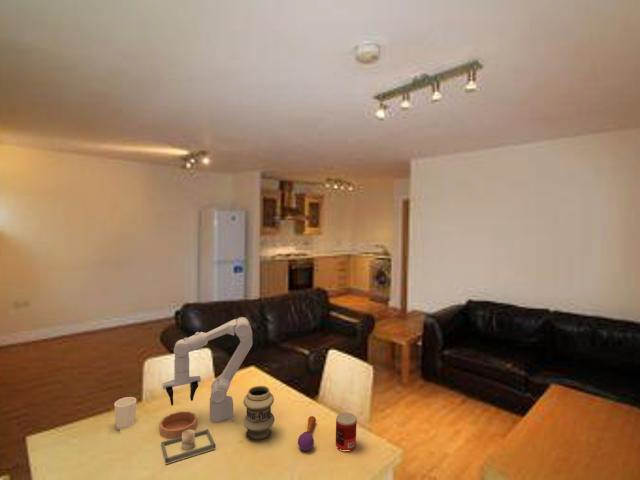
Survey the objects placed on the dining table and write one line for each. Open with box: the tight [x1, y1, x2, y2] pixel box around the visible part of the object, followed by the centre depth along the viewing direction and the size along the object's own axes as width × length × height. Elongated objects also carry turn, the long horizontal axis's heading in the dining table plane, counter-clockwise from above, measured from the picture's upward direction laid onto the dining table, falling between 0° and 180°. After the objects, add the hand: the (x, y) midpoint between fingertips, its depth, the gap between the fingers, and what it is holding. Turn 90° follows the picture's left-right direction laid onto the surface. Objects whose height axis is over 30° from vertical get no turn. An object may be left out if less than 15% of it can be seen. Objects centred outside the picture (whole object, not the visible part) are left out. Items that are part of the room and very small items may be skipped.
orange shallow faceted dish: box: [158, 411, 198, 439], centre depth 144 cm, size 14×14×4 cm
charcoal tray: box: [160, 429, 217, 467], centre depth 132 cm, size 17×11×2 cm, turn 121°
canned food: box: [335, 412, 357, 451], centre depth 136 cm, size 8×8×11 cm
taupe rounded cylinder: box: [181, 430, 196, 451], centre depth 132 cm, size 4×4×6 cm
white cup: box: [114, 396, 137, 431], centre depth 146 cm, size 8×8×10 cm
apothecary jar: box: [243, 385, 275, 443], centre depth 142 cm, size 12×12×18 cm
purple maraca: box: [297, 415, 317, 452], centre depth 141 cm, size 6×6×20 cm
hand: (181, 401), depth 148 cm, fingers open, 7 cm apart
